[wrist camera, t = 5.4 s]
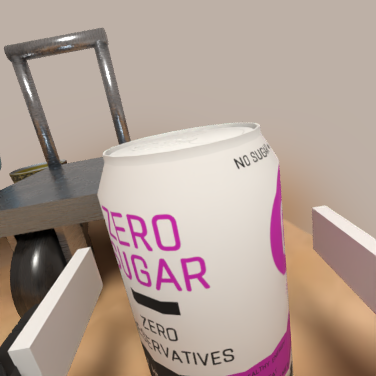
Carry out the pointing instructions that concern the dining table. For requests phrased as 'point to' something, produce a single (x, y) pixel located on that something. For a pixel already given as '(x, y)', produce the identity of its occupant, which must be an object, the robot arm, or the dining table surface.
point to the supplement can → (202, 249)
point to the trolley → (53, 180)
